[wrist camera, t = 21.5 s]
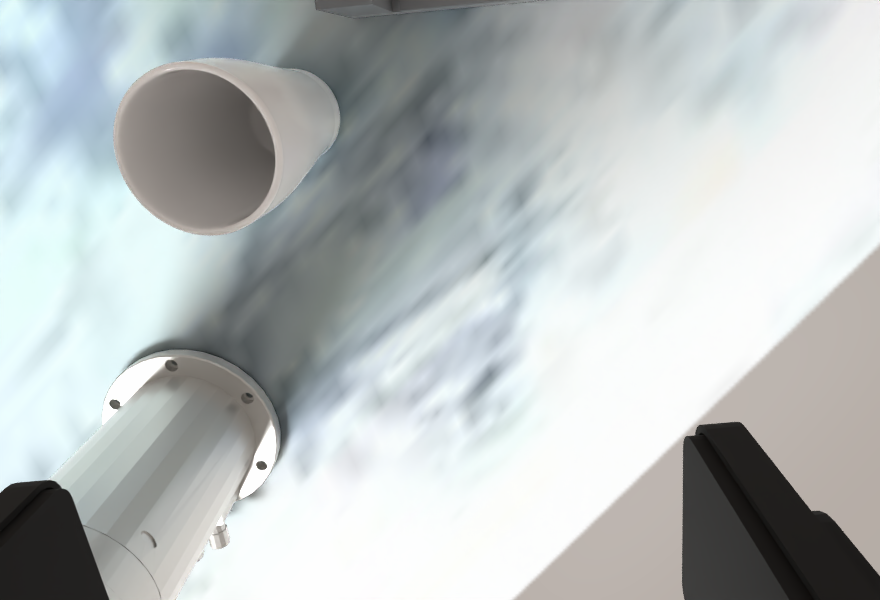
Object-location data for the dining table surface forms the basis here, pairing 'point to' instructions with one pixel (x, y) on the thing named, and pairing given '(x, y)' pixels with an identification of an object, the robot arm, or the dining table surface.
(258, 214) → the drinking glass
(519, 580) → the dining table surface
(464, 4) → the grey open tray
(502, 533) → the dining table surface
